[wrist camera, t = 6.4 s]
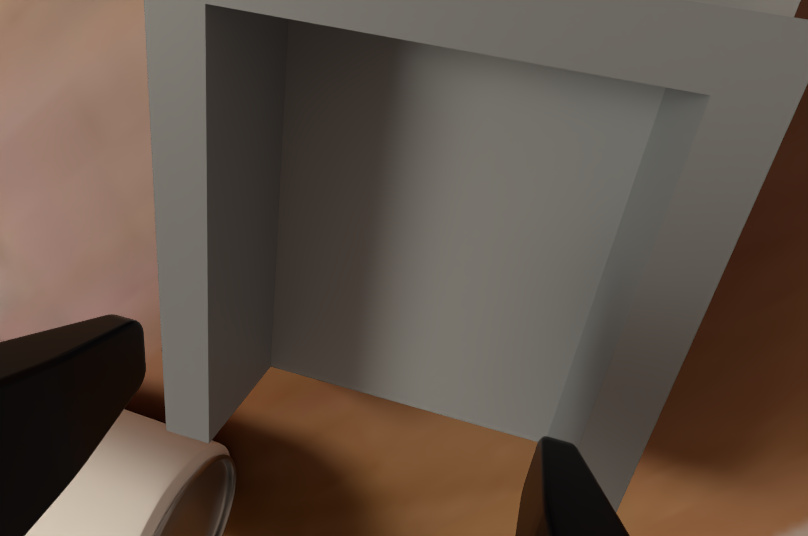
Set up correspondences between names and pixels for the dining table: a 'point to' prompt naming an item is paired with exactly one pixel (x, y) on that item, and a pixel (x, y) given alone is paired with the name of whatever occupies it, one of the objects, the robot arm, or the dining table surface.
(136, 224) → the dining table surface
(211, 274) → the u rest
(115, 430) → the can
